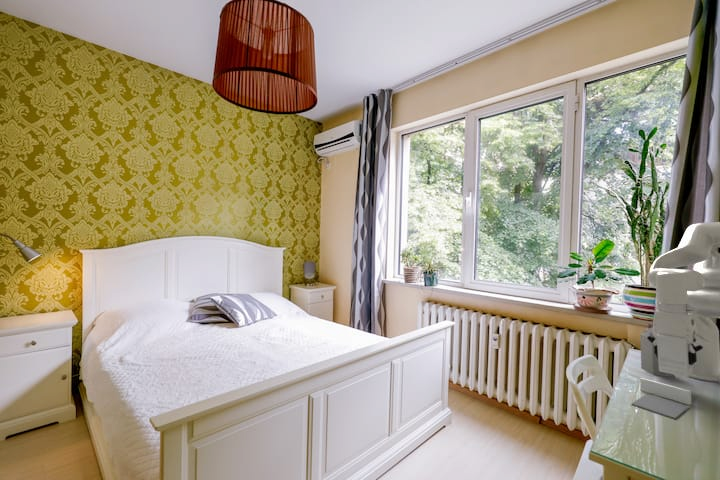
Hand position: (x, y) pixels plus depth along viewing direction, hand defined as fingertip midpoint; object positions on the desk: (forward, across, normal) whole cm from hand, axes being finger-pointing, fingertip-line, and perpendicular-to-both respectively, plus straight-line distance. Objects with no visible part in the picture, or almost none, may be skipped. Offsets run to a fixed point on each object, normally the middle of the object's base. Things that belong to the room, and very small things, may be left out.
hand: (674, 359), depth 110 cm
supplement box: (+4, 0, 0) cm, 4 cm away
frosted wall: (+9, 0, +10) cm, 14 cm away
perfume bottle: (+11, +9, -14) cm, 20 cm away
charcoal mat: (+9, -1, +19) cm, 21 cm away
